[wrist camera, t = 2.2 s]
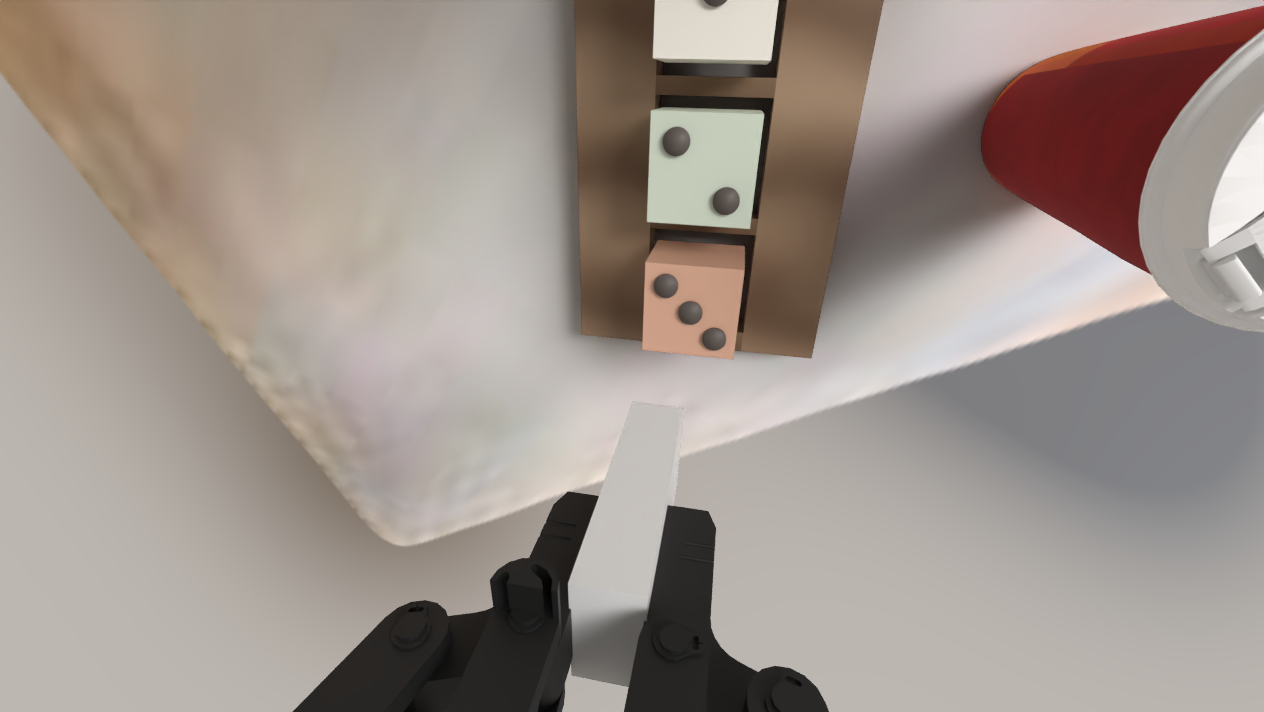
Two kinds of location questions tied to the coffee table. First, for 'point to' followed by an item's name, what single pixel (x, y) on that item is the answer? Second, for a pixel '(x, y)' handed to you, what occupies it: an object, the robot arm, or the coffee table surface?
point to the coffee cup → (1151, 156)
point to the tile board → (792, 172)
